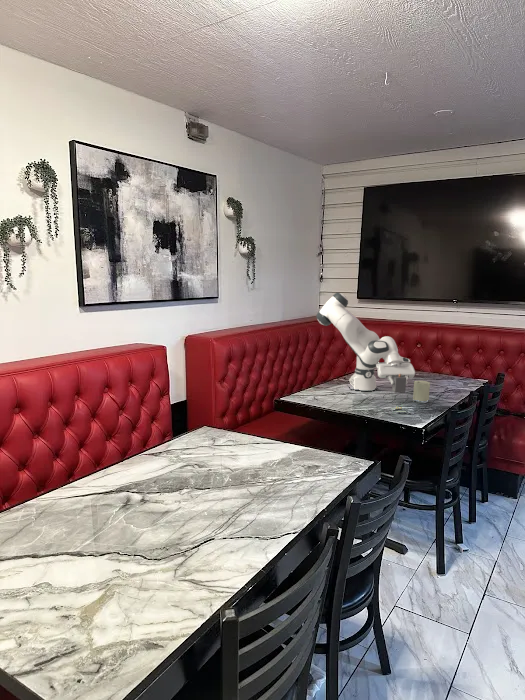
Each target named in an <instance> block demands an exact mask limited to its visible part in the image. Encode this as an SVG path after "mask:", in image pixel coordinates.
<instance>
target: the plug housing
mask: <svg viewBox="0 0 525 700" xmlns="http://www.w3.org/2000/svg"><path fill="white" fill-rule="evenodd" d="M392 380H394V381H395V384H391V391H392V392H393V393H399V394H400V393H403V394H405V393H406V386H407V384H406V378H405V377H403V376H401V374H399V376H393V378H392Z"/></svg>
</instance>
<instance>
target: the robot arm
mask: <svg viewBox="0 0 525 700" xmlns="http://www.w3.org/2000/svg"><path fill="white" fill-rule="evenodd" d="M348 304H349V300H348V298H347V297H346V296H345V294H343V293H340V292H336V293H334V294H333V295H332V296H331V297H330V298H329V299H328V300H327V301H326V302H325V303H324V305H323V306H322V307H321V308H320V310H319V311H318V312H317V314H316V315H315V316H316V319H317V321H318V324H320V325H323V326H325V327H327V326H330V325H331V324H333V326H334V327H335V328H336V329H337V330H338V331H339V332H340V334H341V335H342V337H343V340H344V341H345V343H346V344H347V345H348V347H350V349H351V351H353V352H354V354H355V355H356V367H355V369H354V373H353V374H352V375H351V376H350V378H349V379H348V381H349V382H348V383H350V384H351V385H352V386H353V387H354V389H359V390H373V389H375V388H376V387H377V378H376V376H375V371H376V370H375V368H376V369H377V376H378V378H380V379H387V381H389V382H390V385H392V384H395V381H394V380H393V376H399V374H401V376H403V377H405V378H406V385H407V384H408V379H413V378H414V377H415V375H416V370H415V368H414V366H413V364H412V363H411V359H409V358H407V357H403V356H401V355H400V353H399V349H398V345H397V343H396V340H395V339H394V338H393V337H391V336H388V335H387V336H386V335H385V336H382V337H381V338H380V337H379V335H378V334H377V333H376V332H375V331H373V330H369V329H368V328H367V327H366V326H365V325H364V324H363V323H362V322H361V320H359V318H358V317H356V316H355V315H354V314H352V313H351V312H350V311H349V310H348V309H346V308H347V306H348ZM381 359H383V360H384V361H383V362H380V360H381Z"/></svg>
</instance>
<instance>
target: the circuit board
mask: <svg viewBox="0 0 525 700" xmlns="http://www.w3.org/2000/svg"><path fill="white" fill-rule="evenodd" d="M403 405H404V404H403ZM403 405H401V406H403ZM391 409H395V410H402V407H400V408H399V407H398V406H396V408H391ZM396 412H406V411H396ZM393 413H394V412H393Z"/></svg>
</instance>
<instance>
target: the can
mask: <svg viewBox="0 0 525 700" xmlns="http://www.w3.org/2000/svg"><path fill="white" fill-rule="evenodd" d="M430 388H431V382H430V381H426V380H415V381H413V393H412V400H413V399H414V400H419V401H427V400H429V401H430Z"/></svg>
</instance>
